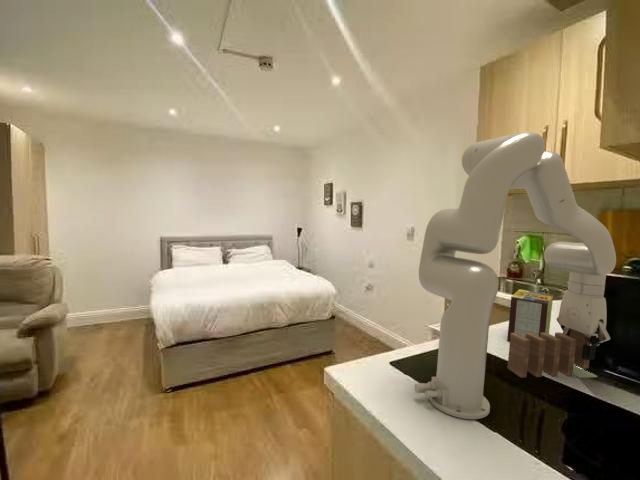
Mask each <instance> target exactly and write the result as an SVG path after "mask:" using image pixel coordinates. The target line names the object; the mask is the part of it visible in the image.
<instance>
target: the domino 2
mask: <svg viewBox="0 0 640 480" xmlns="http://www.w3.org/2000/svg"><path fill="white" fill-rule="evenodd" d="M525 338H527V339H529V340H530V348H529V357H528V367H527V373H529V374H531V375H532V376H534V377H535V378H542V377H543V373H544V372H543V363H544V354H545V345H546V340H545V339H543V338H541V337H539V336H537V335H535V334H533V333H526V336H525Z"/></svg>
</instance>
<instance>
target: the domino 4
mask: <svg viewBox="0 0 640 480" xmlns="http://www.w3.org/2000/svg"><path fill="white" fill-rule="evenodd" d="M554 337H556V338H559V339H561V348H560V357H559V366H558V372H559V373H560V374H562V375H564V376H566V377H573V376H574V375H573V366H574V358H575V349H576V340H577V339H574V338H572V337H570V336H567V335H565V334H563V332H559V331H558V332H554Z"/></svg>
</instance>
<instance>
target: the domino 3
mask: <svg viewBox="0 0 640 480" xmlns="http://www.w3.org/2000/svg"><path fill="white" fill-rule="evenodd" d="M540 337H541V338H543V339H545V340H546V345H545V354H544V363H543V372H542V373H546V374H547V375H549V376H550V377H551V378H552V377H553V378H554V377H555V378H556V377H558V374H559V373H558V372H559V371H558V366H559V357H560V348H561V339H559V338H556V337H555V335H552V334H550V333H549V334H548V333H540Z"/></svg>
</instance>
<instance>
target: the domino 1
mask: <svg viewBox="0 0 640 480" xmlns="http://www.w3.org/2000/svg"><path fill="white" fill-rule="evenodd" d="M508 347H509V349H508V358H507V367H506V368H507V370H509V371H511V372H512V373H513V374H515V375H516V376H517V377H519V378H522V379H524V378H527V376H528V371H527V367H528V357H529V348H530V340H529V339H527V338H525V337H523V336H521V335H519V334H517V333H511V336H510V342H509V346H508Z"/></svg>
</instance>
